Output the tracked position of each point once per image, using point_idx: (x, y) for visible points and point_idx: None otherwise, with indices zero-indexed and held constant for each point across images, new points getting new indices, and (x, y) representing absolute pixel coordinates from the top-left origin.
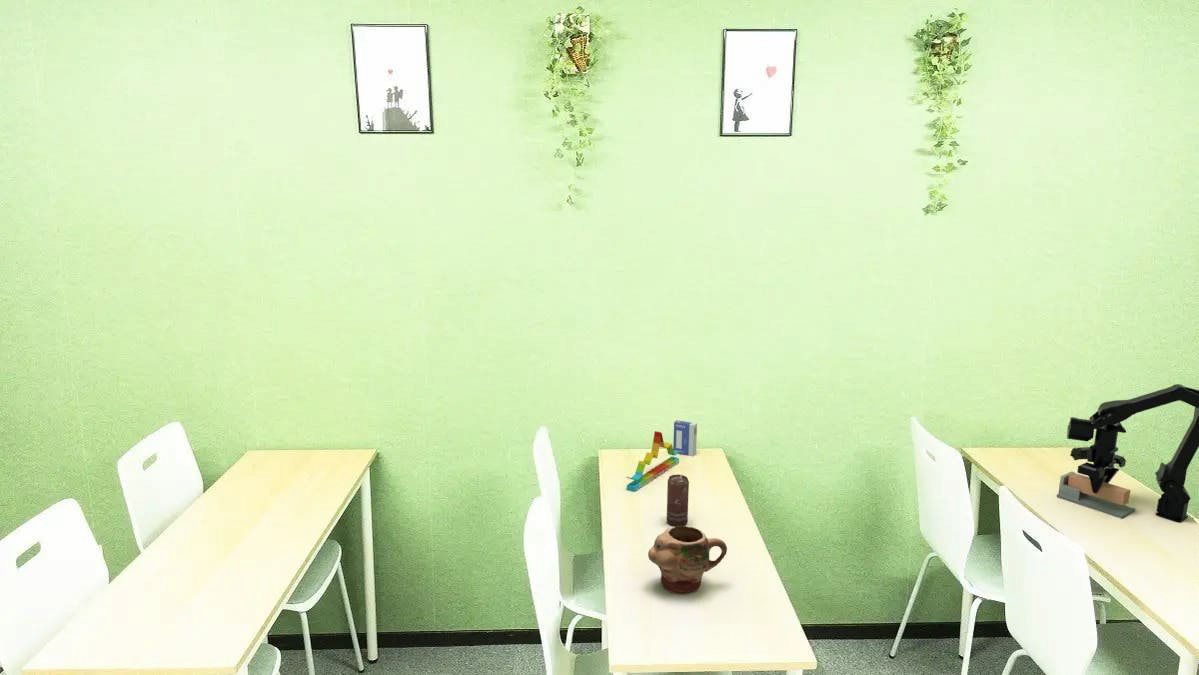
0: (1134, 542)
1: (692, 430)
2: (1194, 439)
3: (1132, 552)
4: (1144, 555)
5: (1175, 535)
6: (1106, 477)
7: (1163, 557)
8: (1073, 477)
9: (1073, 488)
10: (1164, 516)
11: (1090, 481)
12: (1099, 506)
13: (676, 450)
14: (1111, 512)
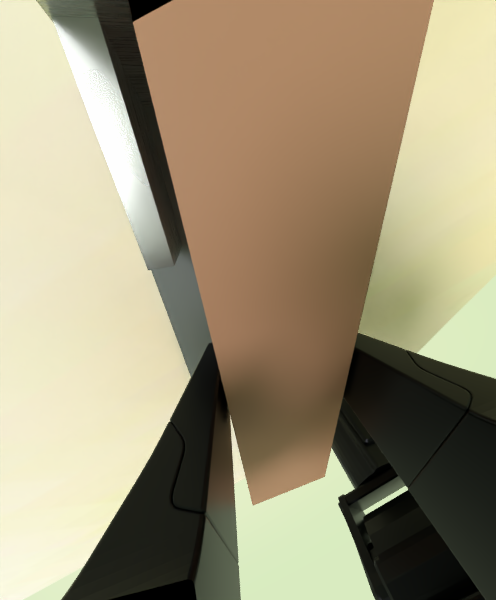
0: (80, 501)
1: None
2: None
3: (12, 538)
4: (39, 541)
5: (235, 470)
6: (393, 432)
7: (89, 538)
8: (151, 86)
9: (126, 206)
10: None
11: (159, 440)
12: (206, 340)
13: None
14: None
